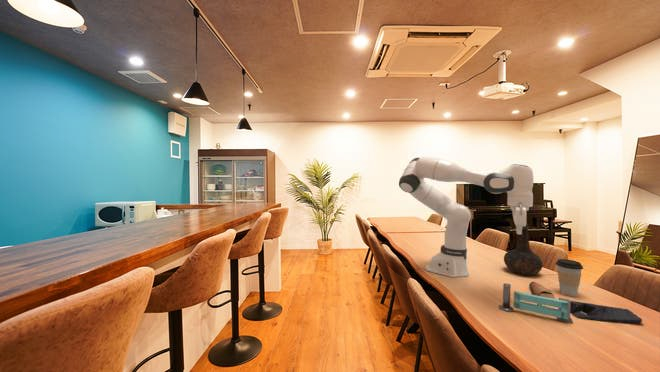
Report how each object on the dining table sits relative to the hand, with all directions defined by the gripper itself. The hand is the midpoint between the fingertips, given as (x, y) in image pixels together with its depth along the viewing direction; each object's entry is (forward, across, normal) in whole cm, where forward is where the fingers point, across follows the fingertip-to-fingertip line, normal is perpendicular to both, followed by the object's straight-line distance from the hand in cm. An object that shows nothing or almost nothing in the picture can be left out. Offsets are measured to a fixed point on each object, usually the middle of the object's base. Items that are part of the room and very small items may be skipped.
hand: (519, 233), depth 113 cm
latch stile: (+29, -9, -14) cm, 34 cm away
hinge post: (+29, -12, +4) cm, 32 cm away
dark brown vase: (+29, +44, -4) cm, 53 cm away
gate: (+28, -12, -6) cm, 31 cm away
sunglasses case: (+30, +12, -10) cm, 34 cm away
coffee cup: (+29, +22, -20) cm, 42 cm away
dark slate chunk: (+30, +5, -26) cm, 40 cm away
